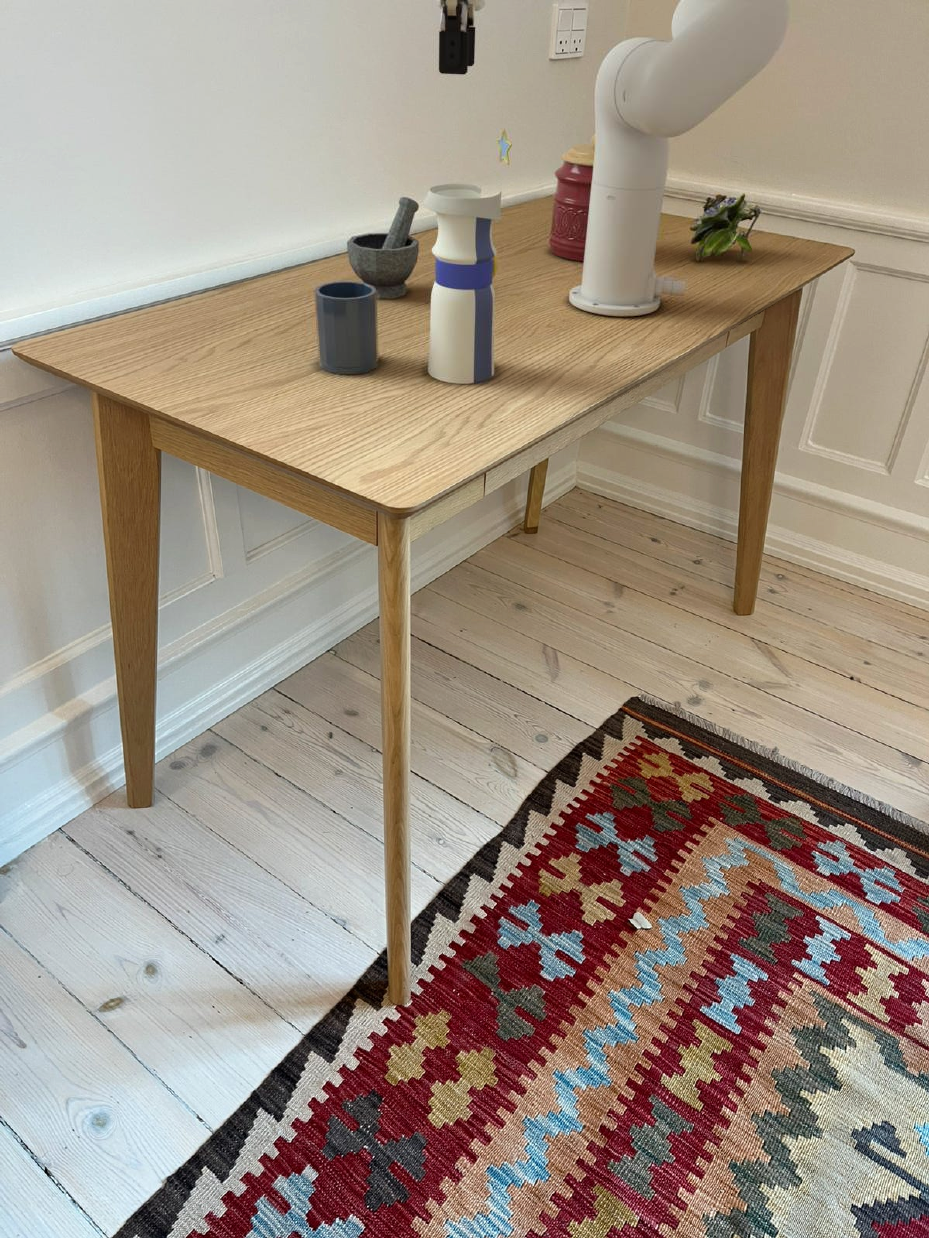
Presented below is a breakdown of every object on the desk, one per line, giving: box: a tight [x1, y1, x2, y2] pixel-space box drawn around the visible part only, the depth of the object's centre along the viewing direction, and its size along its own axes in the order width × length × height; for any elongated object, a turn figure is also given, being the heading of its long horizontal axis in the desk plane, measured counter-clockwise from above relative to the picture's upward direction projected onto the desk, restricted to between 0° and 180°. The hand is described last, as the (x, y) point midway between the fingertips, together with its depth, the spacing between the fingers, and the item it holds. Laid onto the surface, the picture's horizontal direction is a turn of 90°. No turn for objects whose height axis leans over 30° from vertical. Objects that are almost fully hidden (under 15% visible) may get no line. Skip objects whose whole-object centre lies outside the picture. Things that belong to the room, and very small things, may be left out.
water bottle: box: [422, 128, 513, 385], centre depth 100 cm, size 8×9×25 cm
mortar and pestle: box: [346, 196, 420, 300], centre depth 128 cm, size 11×9×12 cm
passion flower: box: [689, 192, 762, 262], centre depth 150 cm, size 11×11×12 cm
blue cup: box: [313, 280, 379, 375], centre depth 106 cm, size 7×7×8 cm
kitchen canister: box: [548, 133, 595, 262], centre depth 147 cm, size 13×13×18 cm
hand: (457, 69), depth 108 cm, fingers open, 9 cm apart
